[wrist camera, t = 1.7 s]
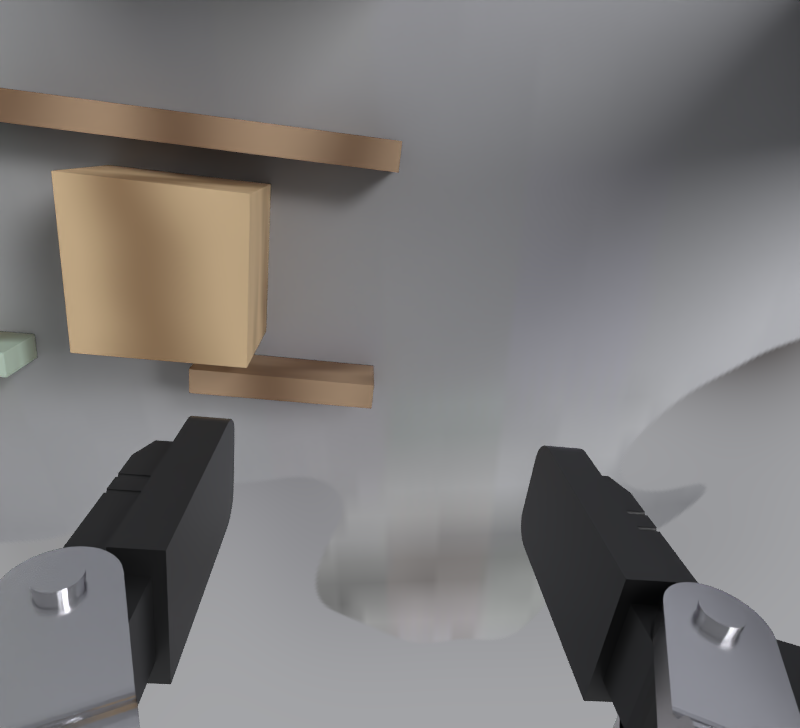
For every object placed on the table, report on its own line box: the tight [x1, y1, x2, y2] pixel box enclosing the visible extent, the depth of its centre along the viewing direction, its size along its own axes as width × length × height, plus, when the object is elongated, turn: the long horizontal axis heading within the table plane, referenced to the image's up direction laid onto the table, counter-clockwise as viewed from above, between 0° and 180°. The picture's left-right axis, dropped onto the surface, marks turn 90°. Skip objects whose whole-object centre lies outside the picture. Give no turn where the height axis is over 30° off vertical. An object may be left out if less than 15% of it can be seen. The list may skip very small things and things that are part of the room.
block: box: [51, 165, 271, 368], centre depth 24 cm, size 7×7×5 cm
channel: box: [0, 88, 402, 408], centre depth 24 cm, size 23×12×4 cm, turn 83°
